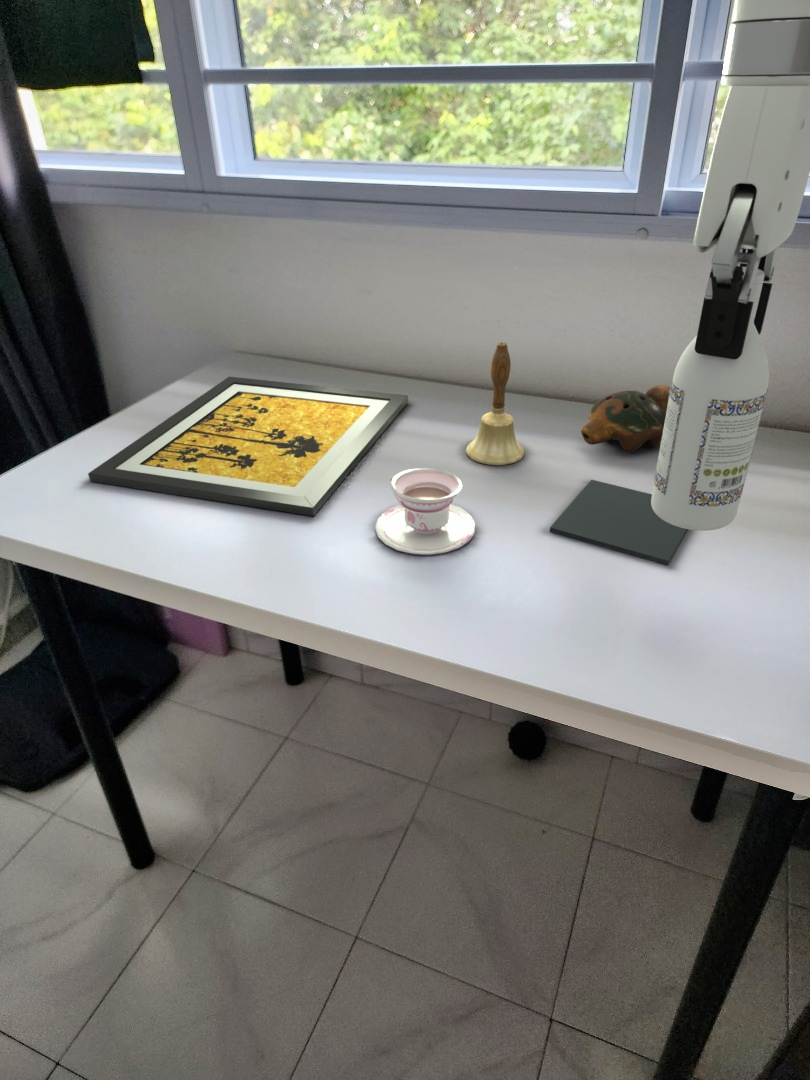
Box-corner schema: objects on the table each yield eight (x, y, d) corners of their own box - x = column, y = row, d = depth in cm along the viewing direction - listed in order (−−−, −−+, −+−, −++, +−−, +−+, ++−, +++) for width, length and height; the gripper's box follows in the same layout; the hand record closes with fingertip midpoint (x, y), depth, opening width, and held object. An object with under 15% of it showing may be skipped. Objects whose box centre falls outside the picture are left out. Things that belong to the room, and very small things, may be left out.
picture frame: (228, 376, 131) (408, 395, 123) (229, 382, 132) (408, 401, 123) (87, 473, 101) (313, 507, 92) (89, 481, 102) (314, 516, 93)
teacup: (493, 520, 91) (495, 475, 88) (442, 568, 83) (443, 520, 80) (410, 495, 97) (410, 452, 94) (355, 537, 89) (352, 491, 85)
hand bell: (536, 451, 107) (545, 342, 99) (500, 471, 102) (507, 357, 94) (490, 435, 112) (495, 329, 104) (454, 453, 107) (456, 344, 99)
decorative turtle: (687, 442, 109) (697, 391, 104) (610, 475, 103) (617, 423, 98) (638, 416, 116) (645, 368, 111) (562, 446, 110) (567, 396, 105)
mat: (699, 510, 93) (700, 506, 92) (667, 565, 83) (668, 560, 82) (590, 483, 99) (591, 479, 99) (549, 531, 89) (549, 527, 89)
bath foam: (750, 512, 64) (814, 270, 53) (707, 543, 60) (766, 288, 49) (678, 484, 68) (723, 255, 58) (633, 511, 64) (673, 271, 54)
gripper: (757, 58, 54) (708, 310, 64) (687, 60, 43) (640, 369, 52) (874, 55, 51) (803, 323, 60) (832, 56, 39) (752, 389, 49)
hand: (728, 342), depth 56 cm, fingers closed on bath foam, 5 cm apart
